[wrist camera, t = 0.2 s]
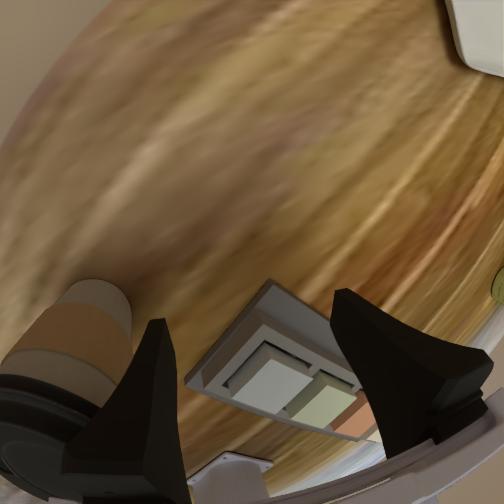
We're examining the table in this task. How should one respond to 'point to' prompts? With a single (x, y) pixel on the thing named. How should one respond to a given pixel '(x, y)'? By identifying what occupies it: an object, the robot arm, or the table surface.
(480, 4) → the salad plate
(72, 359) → the coffee cup
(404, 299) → the table surface
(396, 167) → the table surface
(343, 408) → the key sage
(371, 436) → the key cream
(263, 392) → the key slate
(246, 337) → the grey flat slotted tray
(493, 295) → the tube
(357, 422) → the key terracotta
